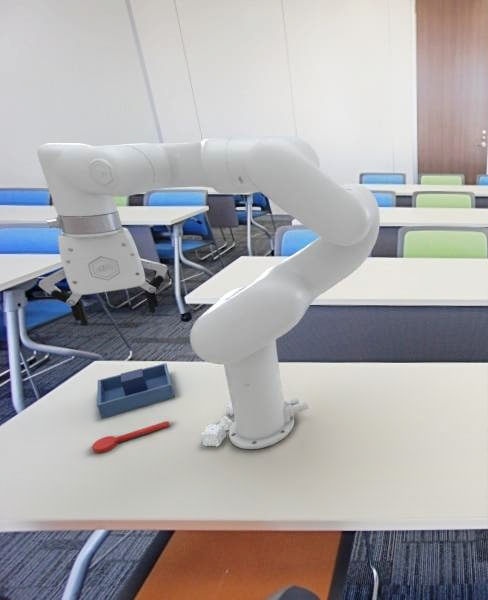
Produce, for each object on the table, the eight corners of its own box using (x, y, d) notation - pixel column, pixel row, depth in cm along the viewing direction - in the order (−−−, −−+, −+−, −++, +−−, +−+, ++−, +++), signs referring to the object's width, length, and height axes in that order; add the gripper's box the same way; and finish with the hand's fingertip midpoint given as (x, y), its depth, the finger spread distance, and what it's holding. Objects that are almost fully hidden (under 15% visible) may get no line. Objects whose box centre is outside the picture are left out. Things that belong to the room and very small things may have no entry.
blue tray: (169, 374, 101) (166, 362, 99) (175, 397, 93) (171, 384, 91) (102, 392, 93) (97, 380, 92) (101, 418, 85) (97, 405, 84)
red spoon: (169, 420, 86) (167, 416, 85) (171, 430, 83) (169, 425, 83) (93, 444, 78) (91, 440, 78) (93, 456, 76) (91, 451, 75)
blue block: (147, 385, 95) (142, 368, 93) (148, 394, 93) (143, 376, 91) (126, 391, 93) (120, 373, 91) (127, 400, 90) (121, 382, 88)
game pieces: (219, 447, 79) (217, 434, 78) (203, 446, 79) (199, 434, 78) (247, 408, 90) (244, 396, 89) (232, 408, 90) (229, 396, 89)
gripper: (13, 234, 58) (53, 337, 65) (157, 223, 68) (179, 313, 75) (21, 223, 63) (57, 320, 70) (153, 215, 74) (174, 299, 80)
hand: (120, 316), depth 72 cm, fingers open, 9 cm apart
